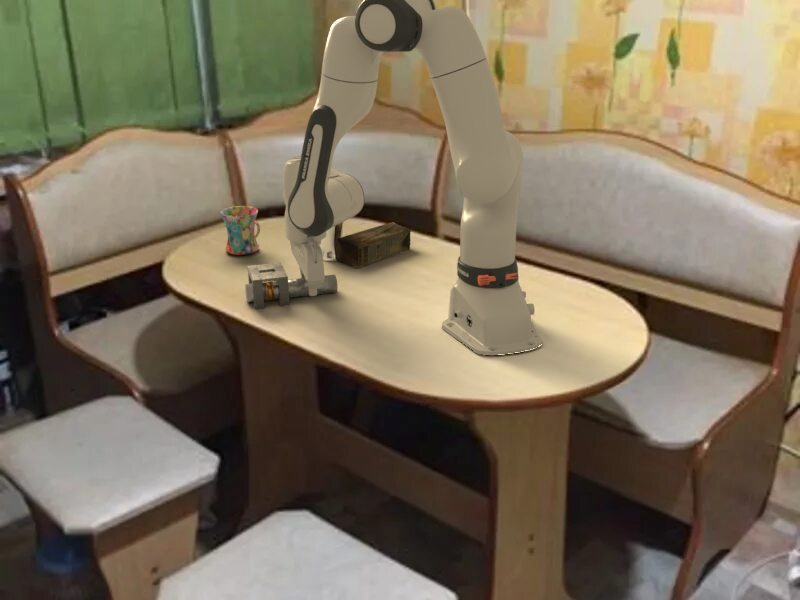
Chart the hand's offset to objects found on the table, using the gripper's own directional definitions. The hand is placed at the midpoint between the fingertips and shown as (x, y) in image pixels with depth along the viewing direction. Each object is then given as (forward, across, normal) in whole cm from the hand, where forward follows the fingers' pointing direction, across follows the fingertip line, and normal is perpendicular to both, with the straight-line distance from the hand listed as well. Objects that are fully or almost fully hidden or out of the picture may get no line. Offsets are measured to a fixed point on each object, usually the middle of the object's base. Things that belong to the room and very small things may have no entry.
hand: (308, 287), depth 198 cm
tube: (+2, 0, +4) cm, 4 cm away
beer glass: (+2, +22, -10) cm, 24 cm away
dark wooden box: (+2, +20, -20) cm, 29 cm away
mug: (+2, +32, +10) cm, 34 cm away
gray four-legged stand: (+2, 0, +9) cm, 9 cm away
